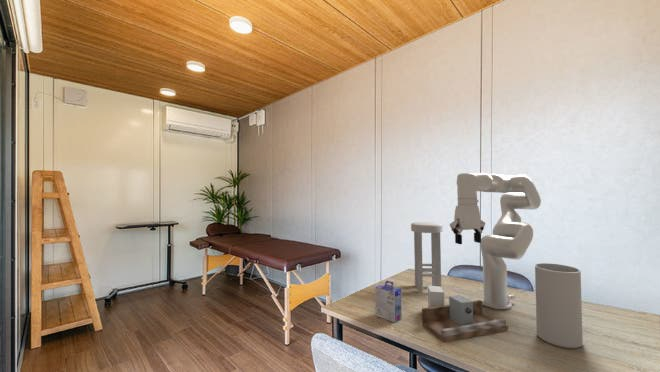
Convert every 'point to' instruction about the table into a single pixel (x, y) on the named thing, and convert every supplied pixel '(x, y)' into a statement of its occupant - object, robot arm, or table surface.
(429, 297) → the small box
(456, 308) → the cabinet block
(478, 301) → the wooden ridged tray
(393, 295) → the ink cartridge box
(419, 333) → the table surface
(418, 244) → the stool
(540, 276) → the cylinder vase
